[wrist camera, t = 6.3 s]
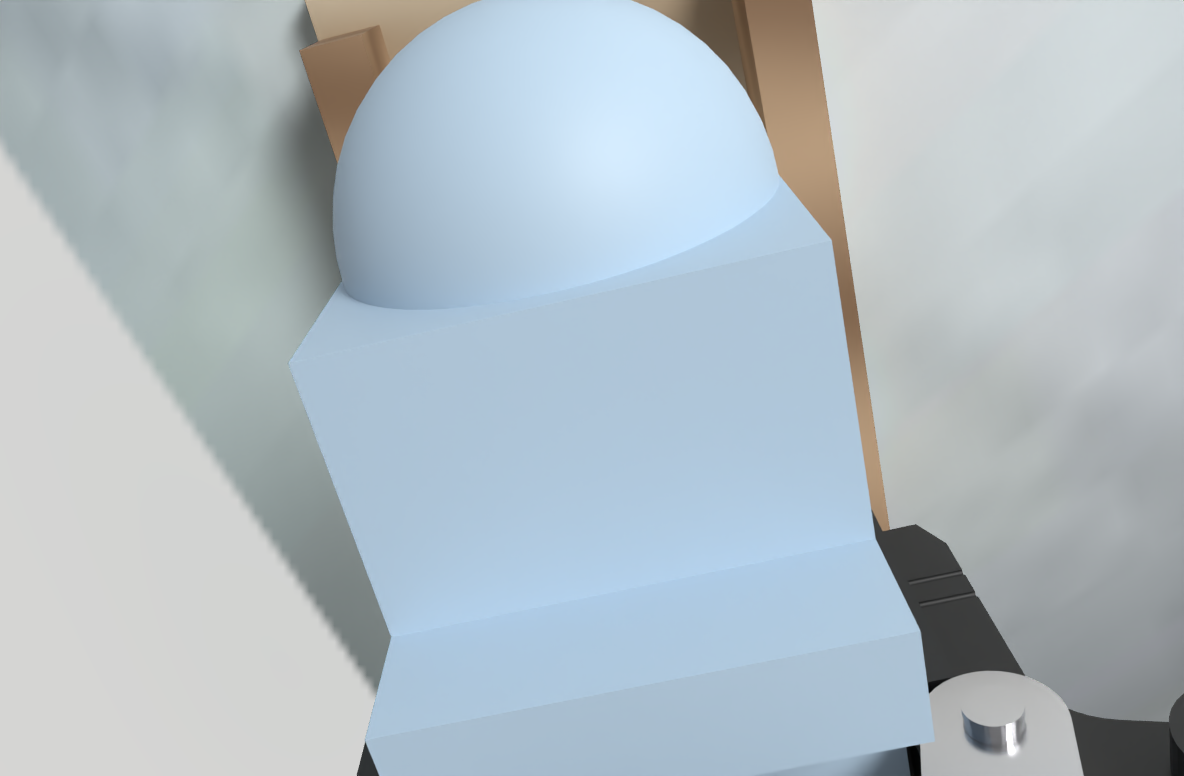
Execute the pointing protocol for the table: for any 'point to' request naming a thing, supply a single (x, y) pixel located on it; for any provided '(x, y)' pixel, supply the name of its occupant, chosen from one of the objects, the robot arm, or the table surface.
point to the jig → (732, 31)
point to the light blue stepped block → (600, 419)
